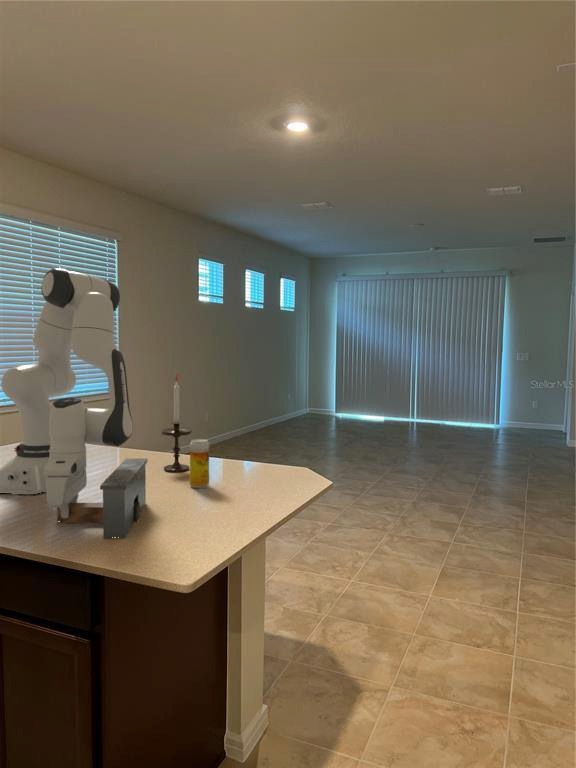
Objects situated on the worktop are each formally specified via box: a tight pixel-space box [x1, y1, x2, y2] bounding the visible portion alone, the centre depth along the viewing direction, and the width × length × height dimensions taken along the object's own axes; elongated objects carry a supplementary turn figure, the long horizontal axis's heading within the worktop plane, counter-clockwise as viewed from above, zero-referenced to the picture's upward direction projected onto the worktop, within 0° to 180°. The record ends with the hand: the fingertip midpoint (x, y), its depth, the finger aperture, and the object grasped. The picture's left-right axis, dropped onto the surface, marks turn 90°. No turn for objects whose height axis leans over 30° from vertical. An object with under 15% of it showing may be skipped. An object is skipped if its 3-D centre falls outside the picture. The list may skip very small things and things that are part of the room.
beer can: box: [189, 438, 210, 489], centre depth 177 cm, size 6×6×15 cm
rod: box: [56, 502, 141, 523], centre depth 143 cm, size 20×4×4 cm, turn 94°
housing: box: [99, 458, 148, 539], centre depth 143 cm, size 6×29×13 cm, turn 5°
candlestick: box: [160, 373, 193, 474], centre depth 198 cm, size 11×11×35 cm
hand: (69, 513), depth 142 cm, fingers closed on rod, 4 cm apart
